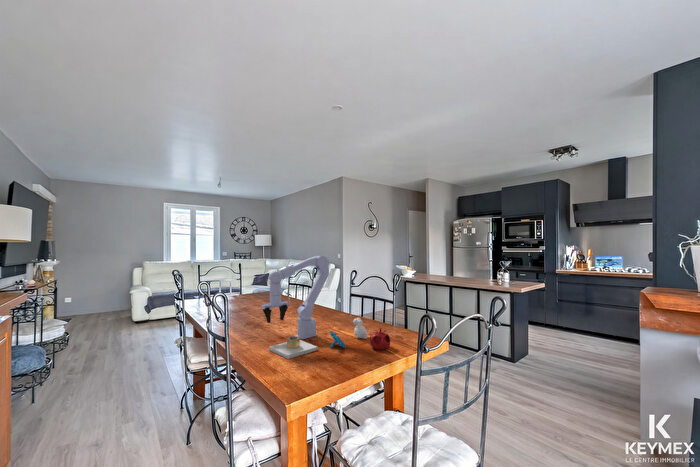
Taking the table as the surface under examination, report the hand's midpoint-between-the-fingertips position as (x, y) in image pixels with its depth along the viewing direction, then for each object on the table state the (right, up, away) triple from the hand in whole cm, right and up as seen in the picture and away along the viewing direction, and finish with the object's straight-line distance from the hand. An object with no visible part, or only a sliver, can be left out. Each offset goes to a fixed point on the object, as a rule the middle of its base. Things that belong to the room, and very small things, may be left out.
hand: (275, 321), depth 161 cm
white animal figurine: (+44, -10, +3) cm, 45 cm away
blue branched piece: (+33, -9, -12) cm, 36 cm away
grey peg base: (+12, -9, -16) cm, 22 cm away
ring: (+12, -7, -16) cm, 21 cm away
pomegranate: (+53, -9, -14) cm, 55 cm away
